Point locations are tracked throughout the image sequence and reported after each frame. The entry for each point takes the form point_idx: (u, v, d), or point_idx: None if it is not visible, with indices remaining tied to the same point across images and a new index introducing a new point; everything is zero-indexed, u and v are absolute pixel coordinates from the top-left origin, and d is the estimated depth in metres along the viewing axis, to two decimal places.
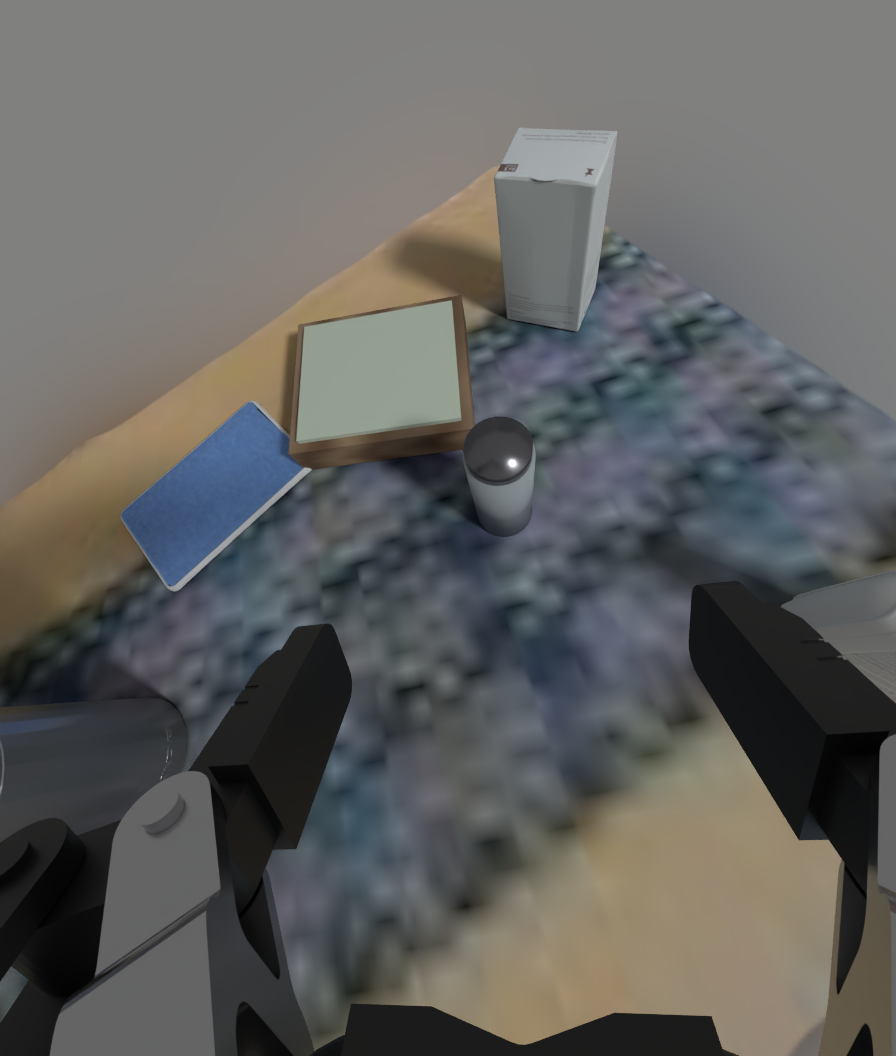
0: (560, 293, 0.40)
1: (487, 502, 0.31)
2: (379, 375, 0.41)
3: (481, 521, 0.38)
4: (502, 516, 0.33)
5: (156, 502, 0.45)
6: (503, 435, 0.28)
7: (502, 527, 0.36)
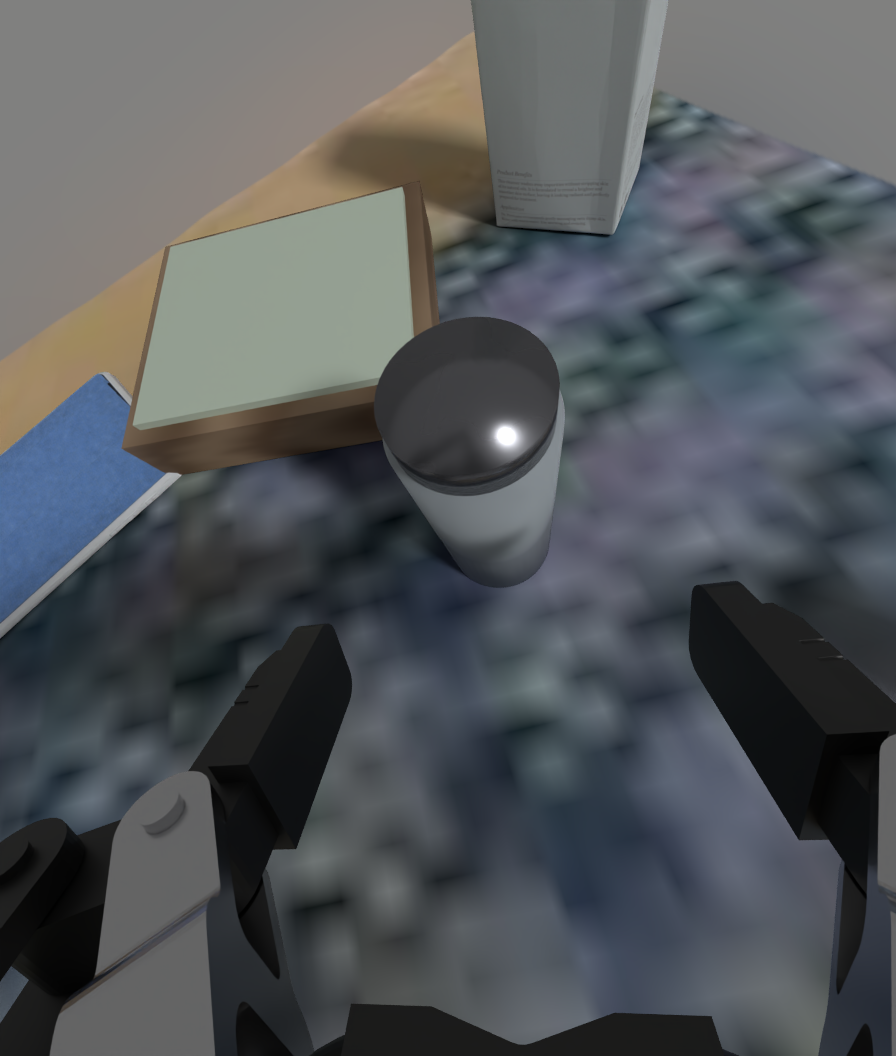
0: (587, 153, 0.23)
1: (452, 533, 0.14)
2: (278, 310, 0.24)
3: (455, 561, 0.20)
4: (491, 559, 0.16)
5: None
6: (478, 361, 0.11)
7: (494, 576, 0.18)
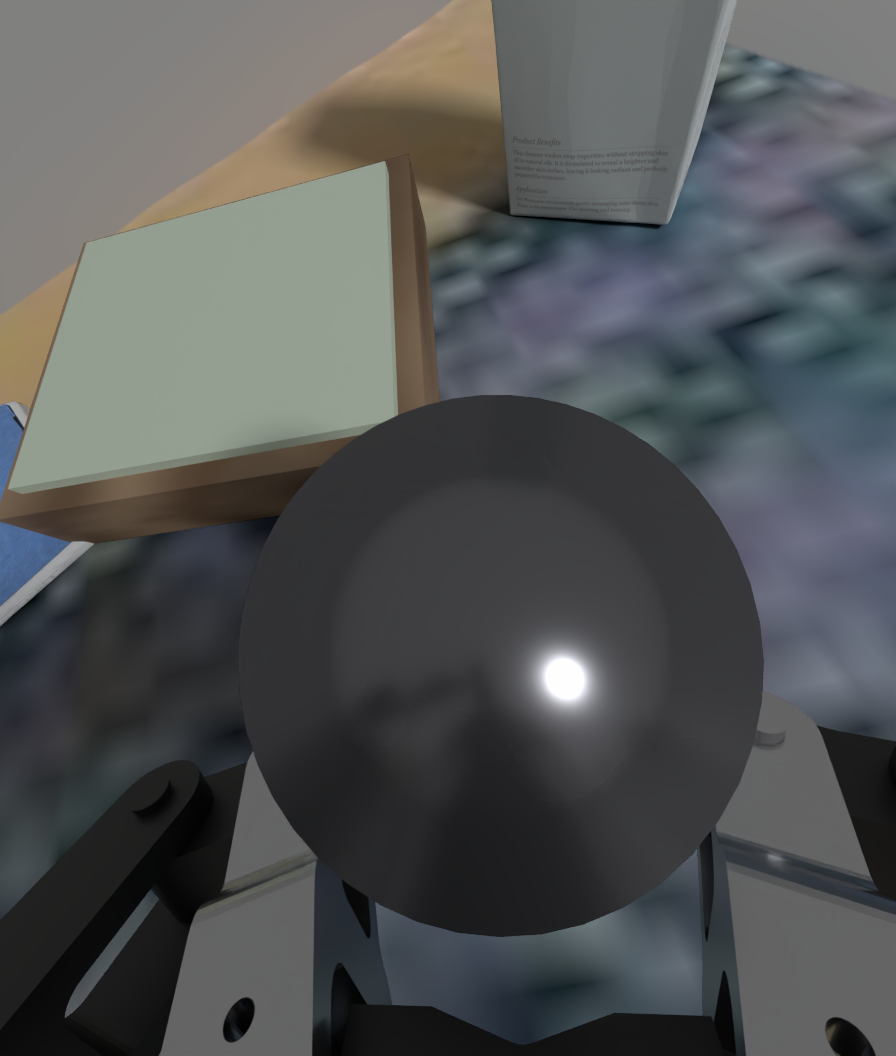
0: (641, 108, 0.16)
1: None
2: (213, 329, 0.18)
3: None
4: None
5: None
6: (513, 522, 0.04)
7: None
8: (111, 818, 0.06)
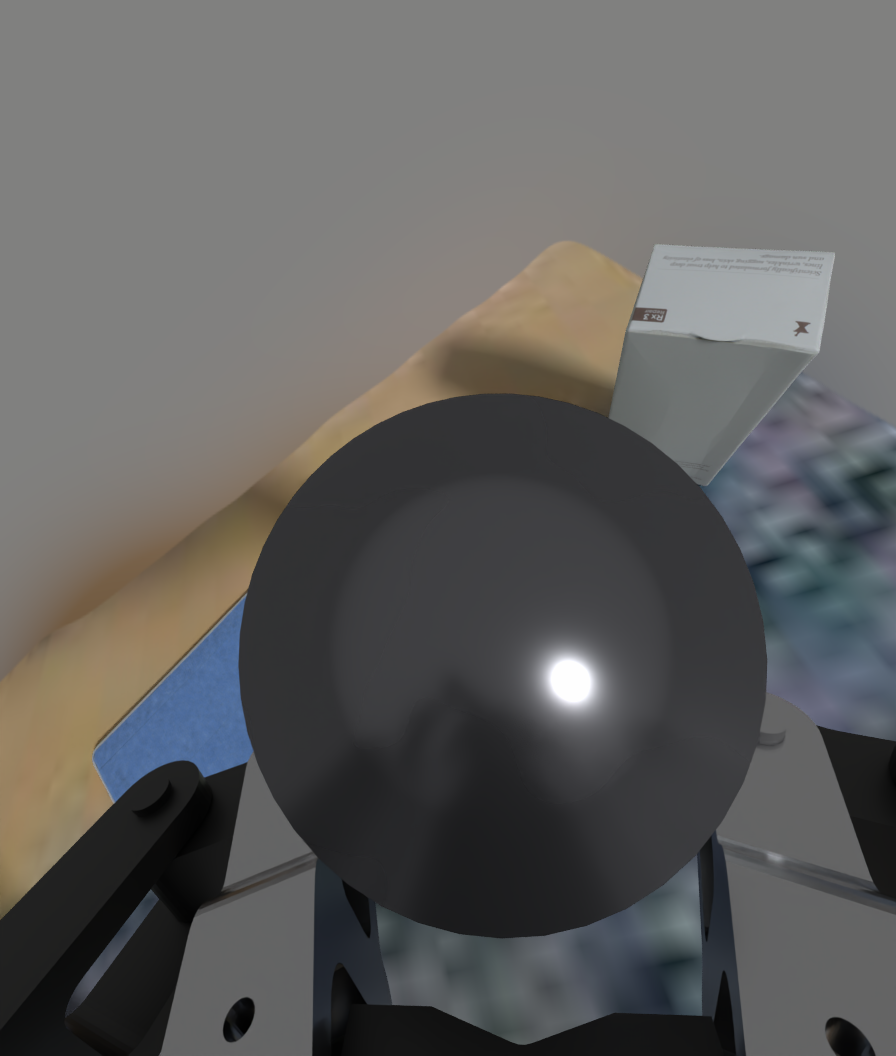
0: (695, 452, 0.28)
1: None
2: None
3: None
4: None
5: (139, 739, 0.33)
6: (514, 521, 0.04)
7: None
8: (111, 818, 0.06)
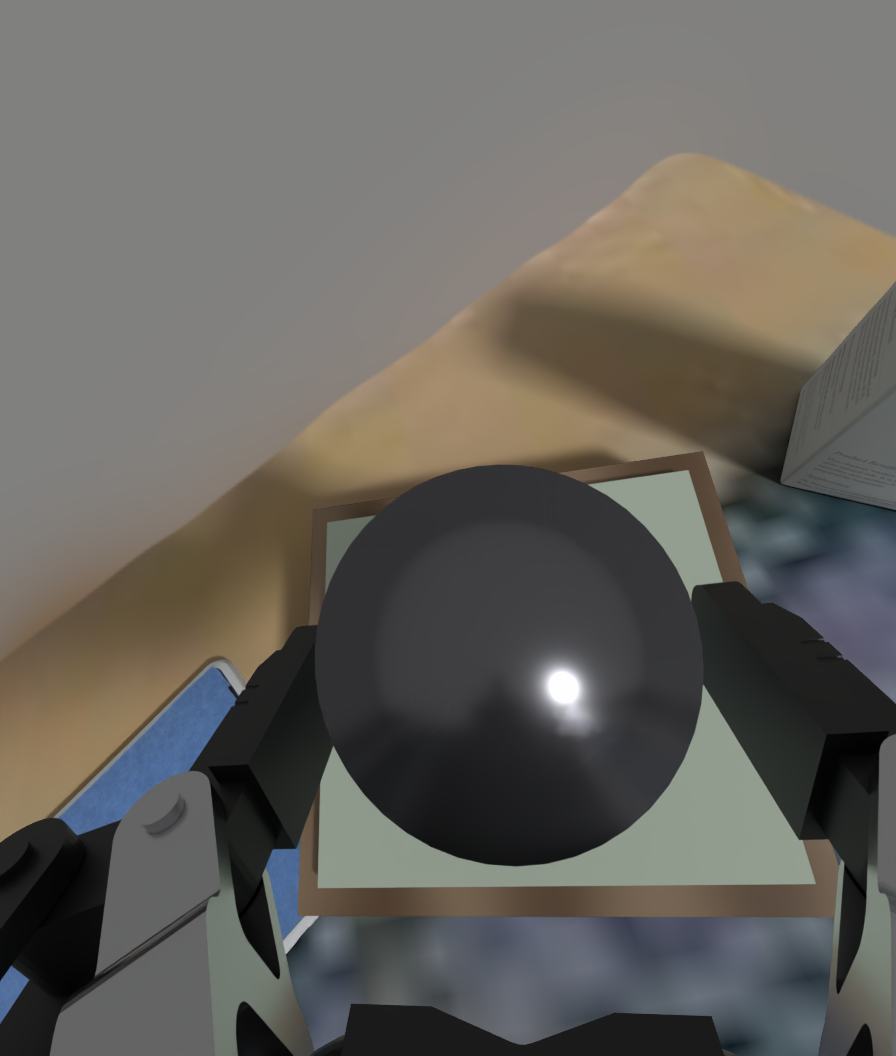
0: None
1: None
2: None
3: None
4: None
5: None
6: (524, 567, 0.05)
7: None
8: None
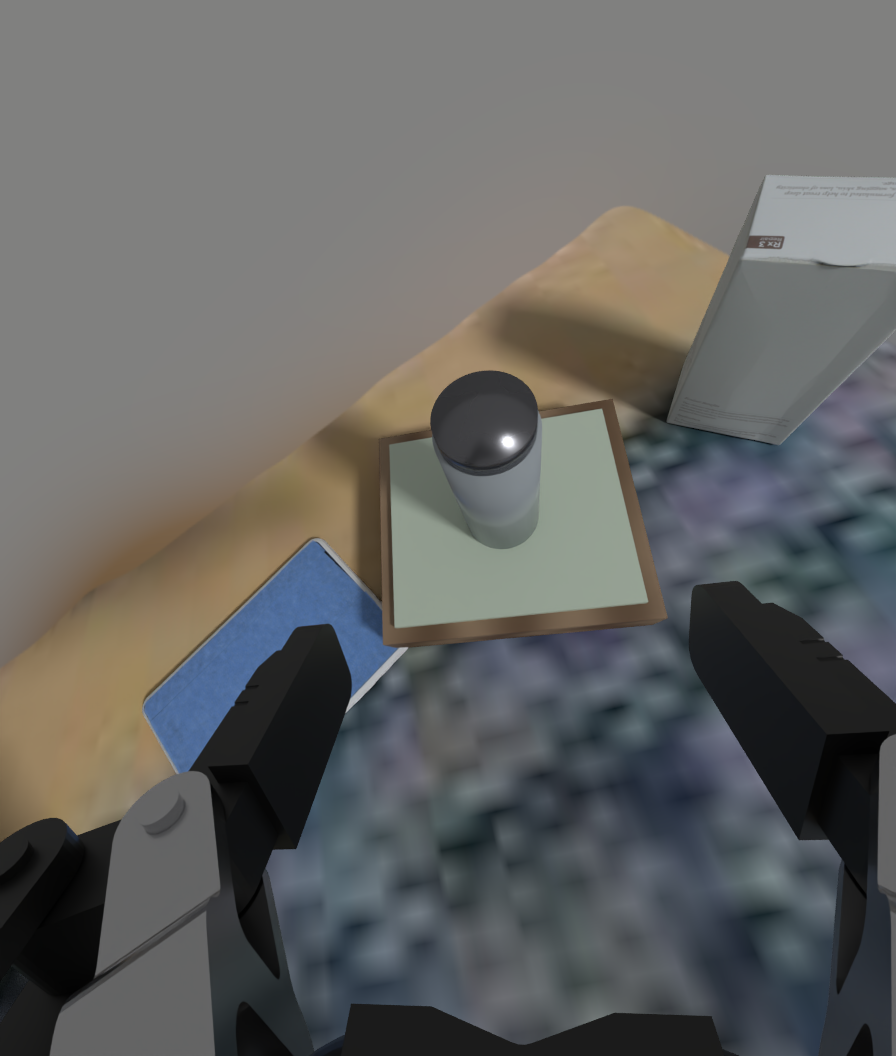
0: (778, 404, 0.27)
1: (472, 501, 0.21)
2: None
3: (470, 528, 0.28)
4: (496, 522, 0.23)
5: (191, 691, 0.33)
6: (492, 398, 0.18)
7: (497, 537, 0.26)
8: None
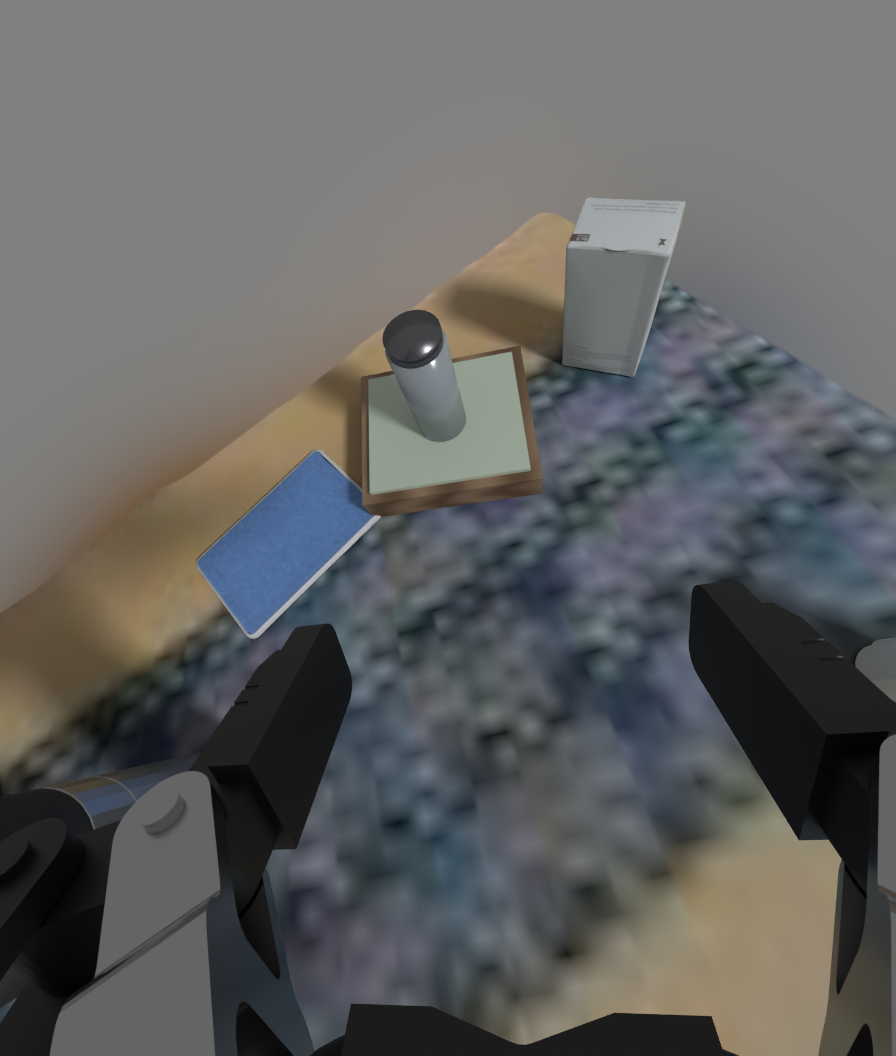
0: (620, 344, 0.42)
1: (411, 392, 0.36)
2: None
3: (419, 426, 0.42)
4: (430, 411, 0.38)
5: (230, 550, 0.47)
6: (416, 324, 0.33)
7: (434, 428, 0.40)
8: None
